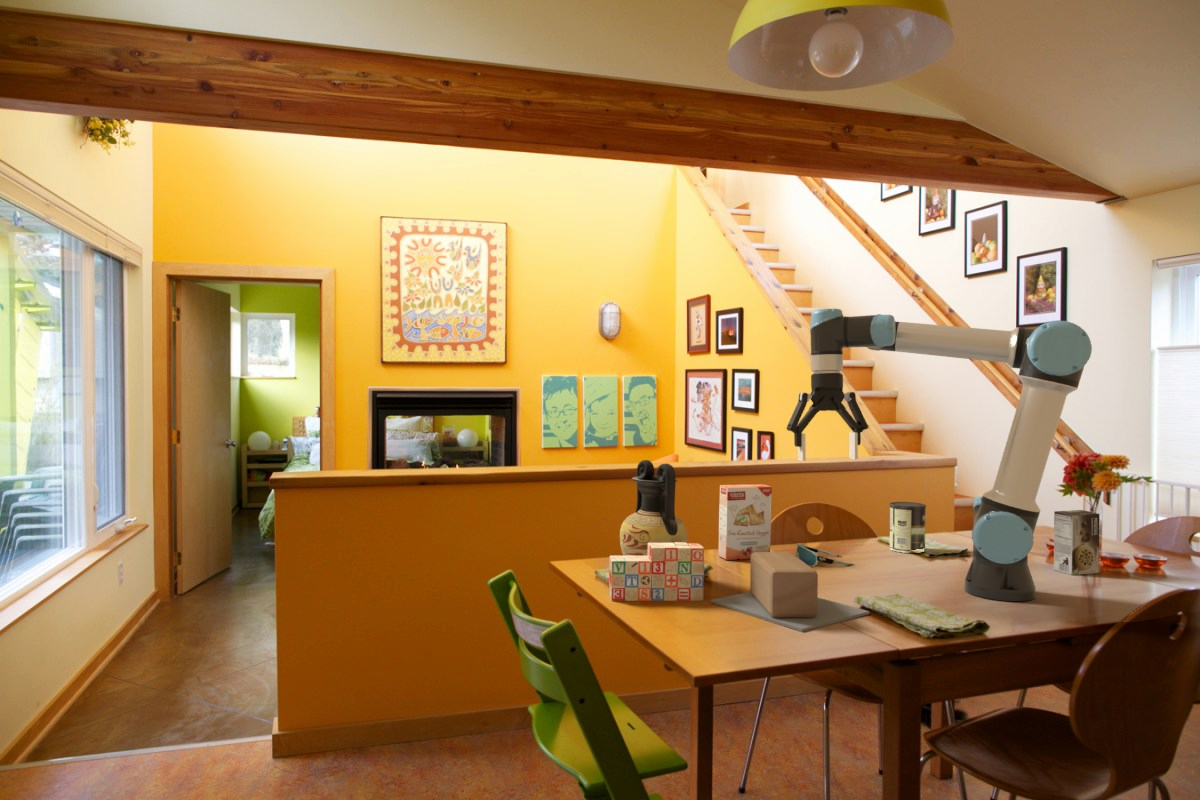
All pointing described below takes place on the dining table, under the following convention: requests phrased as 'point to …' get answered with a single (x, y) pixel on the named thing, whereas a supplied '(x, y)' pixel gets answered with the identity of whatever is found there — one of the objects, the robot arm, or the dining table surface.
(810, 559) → the sunglasses
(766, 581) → the wooden block
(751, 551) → the cracker box
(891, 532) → the coffee can
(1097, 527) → the grey food carton
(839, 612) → the mat
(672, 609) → the dining table surface
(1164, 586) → the dining table surface
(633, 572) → the stack of blocks
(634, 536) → the amphora
